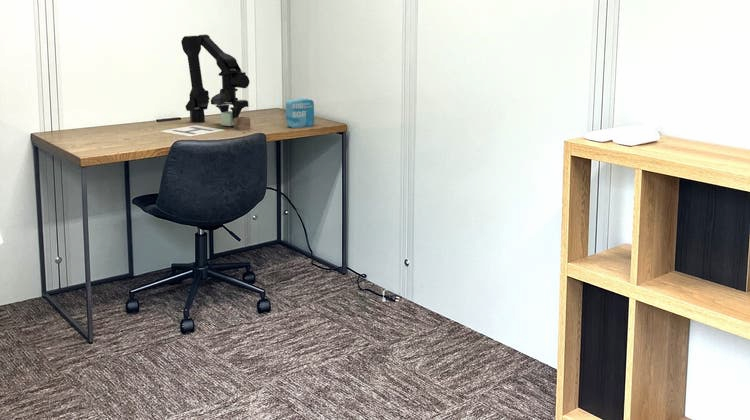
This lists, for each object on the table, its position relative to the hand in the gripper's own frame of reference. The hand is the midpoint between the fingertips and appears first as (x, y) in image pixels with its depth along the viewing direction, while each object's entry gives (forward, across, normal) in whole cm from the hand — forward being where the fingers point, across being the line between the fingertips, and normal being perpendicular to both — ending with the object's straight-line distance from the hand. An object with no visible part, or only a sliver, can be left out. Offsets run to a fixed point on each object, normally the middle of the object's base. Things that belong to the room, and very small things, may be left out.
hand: (230, 121), depth 407 cm
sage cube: (+1, 0, 0) cm, 1 cm away
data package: (+3, +20, +24) cm, 31 cm away
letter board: (+3, -4, -18) cm, 19 cm away
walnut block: (+3, +10, -2) cm, 11 cm away
